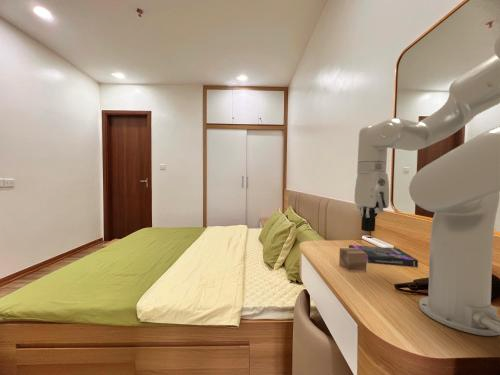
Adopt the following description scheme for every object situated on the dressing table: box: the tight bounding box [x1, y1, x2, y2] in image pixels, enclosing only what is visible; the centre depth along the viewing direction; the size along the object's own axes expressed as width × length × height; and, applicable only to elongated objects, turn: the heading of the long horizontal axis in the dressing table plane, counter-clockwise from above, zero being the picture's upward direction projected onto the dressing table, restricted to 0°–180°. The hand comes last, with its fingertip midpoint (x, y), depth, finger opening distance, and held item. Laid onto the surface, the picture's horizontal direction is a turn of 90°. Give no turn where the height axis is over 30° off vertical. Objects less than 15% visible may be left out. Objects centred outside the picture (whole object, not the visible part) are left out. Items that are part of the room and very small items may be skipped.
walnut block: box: [338, 247, 368, 273], centre depth 74 cm, size 6×6×6 cm
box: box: [348, 244, 419, 268], centre depth 86 cm, size 14×4×20 cm
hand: (367, 230), depth 66 cm, fingers closed
